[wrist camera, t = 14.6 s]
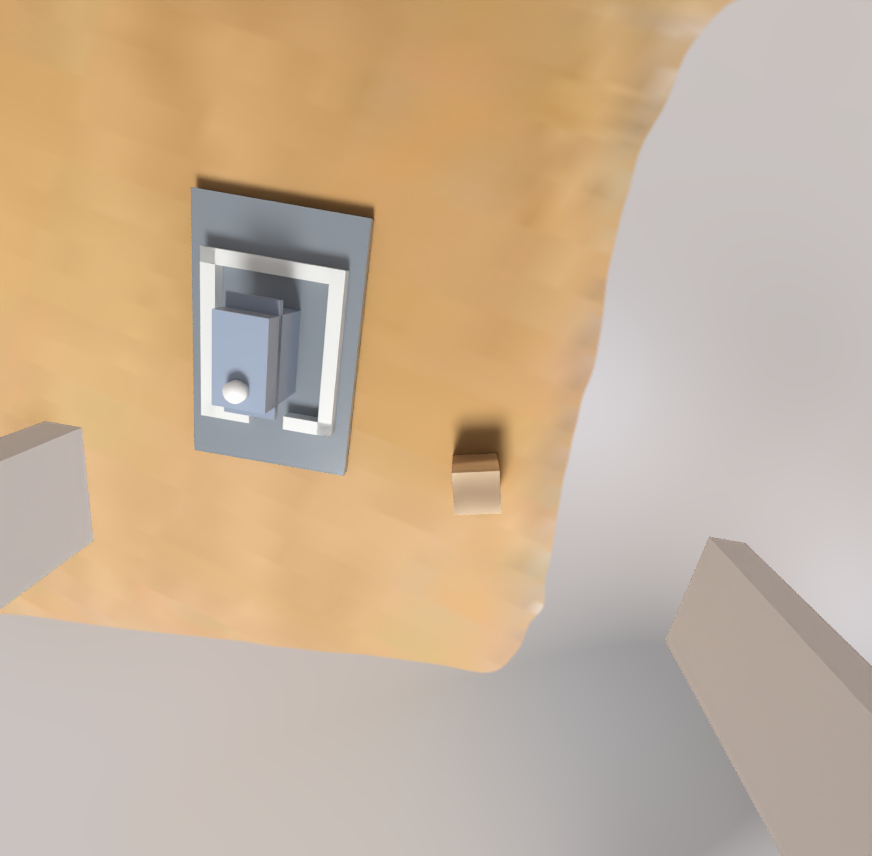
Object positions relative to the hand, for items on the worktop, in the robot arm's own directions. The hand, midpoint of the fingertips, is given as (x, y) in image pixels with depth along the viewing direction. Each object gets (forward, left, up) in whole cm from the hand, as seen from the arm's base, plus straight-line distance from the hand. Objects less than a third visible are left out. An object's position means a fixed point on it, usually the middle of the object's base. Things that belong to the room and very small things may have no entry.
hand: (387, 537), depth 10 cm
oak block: (+12, +5, -31) cm, 33 cm away
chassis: (+3, -14, -31) cm, 34 cm away
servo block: (+3, -14, -30) cm, 33 cm away
